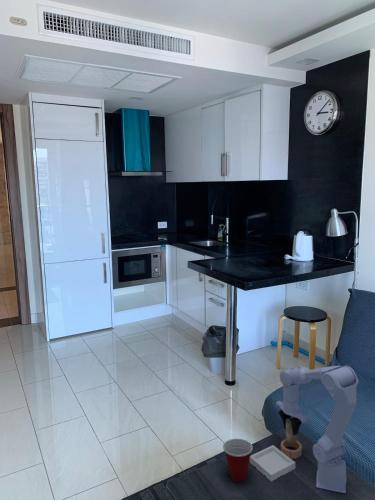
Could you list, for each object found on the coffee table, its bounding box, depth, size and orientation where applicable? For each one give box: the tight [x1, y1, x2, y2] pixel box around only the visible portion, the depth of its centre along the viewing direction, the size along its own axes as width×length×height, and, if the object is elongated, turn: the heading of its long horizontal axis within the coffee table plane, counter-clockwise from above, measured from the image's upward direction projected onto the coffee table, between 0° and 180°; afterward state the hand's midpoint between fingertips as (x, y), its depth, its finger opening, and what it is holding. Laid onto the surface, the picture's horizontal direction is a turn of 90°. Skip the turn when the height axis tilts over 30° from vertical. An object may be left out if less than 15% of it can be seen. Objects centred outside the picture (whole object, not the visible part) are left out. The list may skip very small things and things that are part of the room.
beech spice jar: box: [285, 415, 298, 443], centre depth 149 cm, size 4×4×9 cm
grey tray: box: [249, 444, 296, 482], centre depth 143 cm, size 12×12×2 cm
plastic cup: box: [222, 438, 254, 483], centre depth 138 cm, size 11×11×12 cm
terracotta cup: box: [280, 438, 303, 459], centre depth 150 cm, size 8×8×3 cm
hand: (291, 431), depth 149 cm, fingers closed on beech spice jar, 4 cm apart
